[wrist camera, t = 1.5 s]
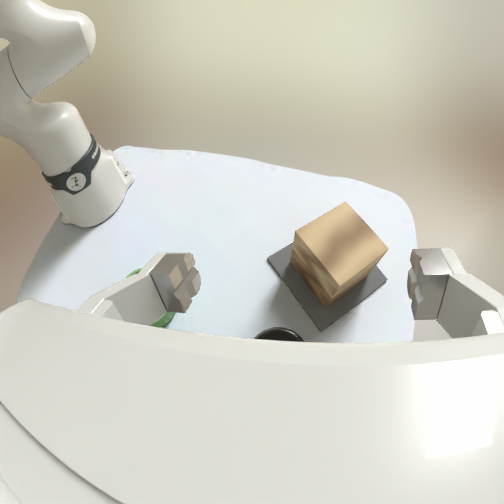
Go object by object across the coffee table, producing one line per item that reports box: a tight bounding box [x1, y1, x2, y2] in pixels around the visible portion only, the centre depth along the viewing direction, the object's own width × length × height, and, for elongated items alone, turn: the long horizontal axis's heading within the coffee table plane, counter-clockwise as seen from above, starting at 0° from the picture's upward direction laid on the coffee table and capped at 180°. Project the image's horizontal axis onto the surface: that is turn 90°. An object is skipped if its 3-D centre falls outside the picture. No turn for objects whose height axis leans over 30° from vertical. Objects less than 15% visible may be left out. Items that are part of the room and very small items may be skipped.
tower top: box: [292, 202, 388, 298], centre depth 37 cm, size 9×9×4 cm
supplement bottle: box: [254, 327, 304, 342], centre depth 32 cm, size 7×7×12 cm
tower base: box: [290, 248, 377, 307], centre depth 41 cm, size 9×9×4 cm
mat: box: [267, 243, 387, 331], centre depth 43 cm, size 14×14×1 cm
